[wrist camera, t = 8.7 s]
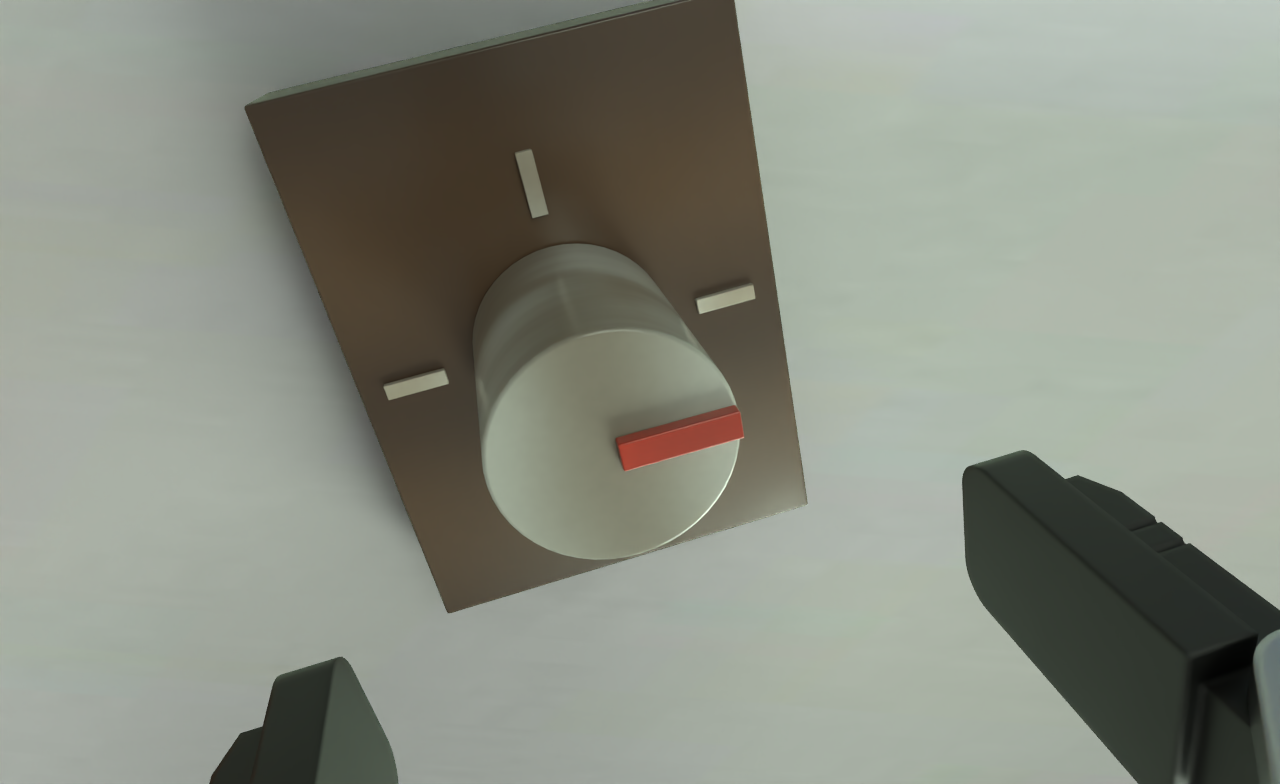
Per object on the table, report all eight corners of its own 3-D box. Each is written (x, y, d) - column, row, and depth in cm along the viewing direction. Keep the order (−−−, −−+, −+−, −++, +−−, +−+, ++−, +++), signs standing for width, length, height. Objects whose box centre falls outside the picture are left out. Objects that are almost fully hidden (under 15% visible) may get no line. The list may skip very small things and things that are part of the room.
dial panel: (266, 93, 19) (240, 106, 17) (700, -12, 20) (735, -13, 17) (447, 559, 25) (447, 618, 22) (776, 461, 26) (810, 508, 23)
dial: (502, 450, 21) (522, 600, 16) (446, 271, 19) (447, 376, 14) (685, 400, 21) (762, 529, 16) (649, 220, 19) (725, 302, 14)
